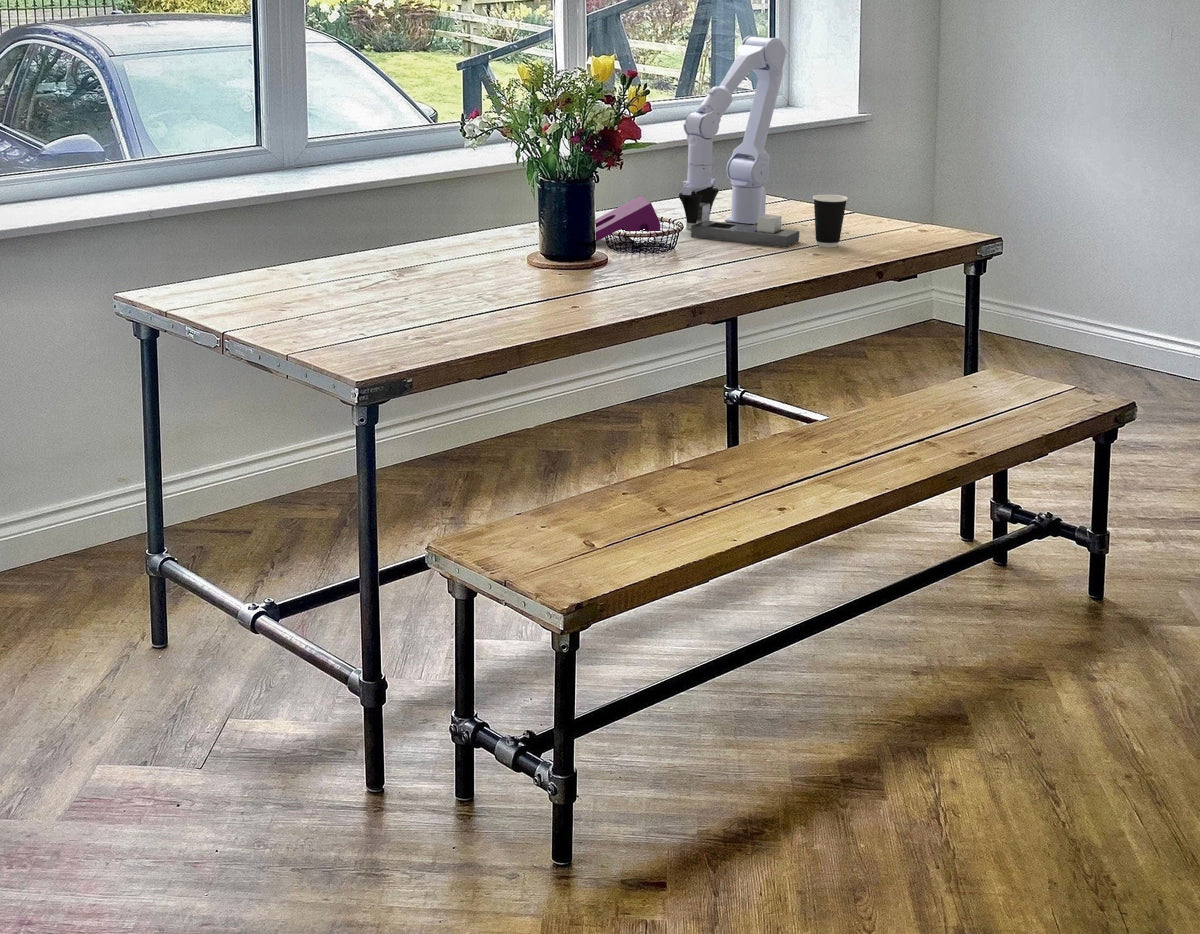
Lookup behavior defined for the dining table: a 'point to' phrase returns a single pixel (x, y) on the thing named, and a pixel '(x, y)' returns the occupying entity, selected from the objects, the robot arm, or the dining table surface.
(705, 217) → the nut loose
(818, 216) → the dixie cup
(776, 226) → the off-white rectangular block
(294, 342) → the dining table surface
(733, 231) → the rail
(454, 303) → the dining table surface
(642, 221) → the mounting bracket
